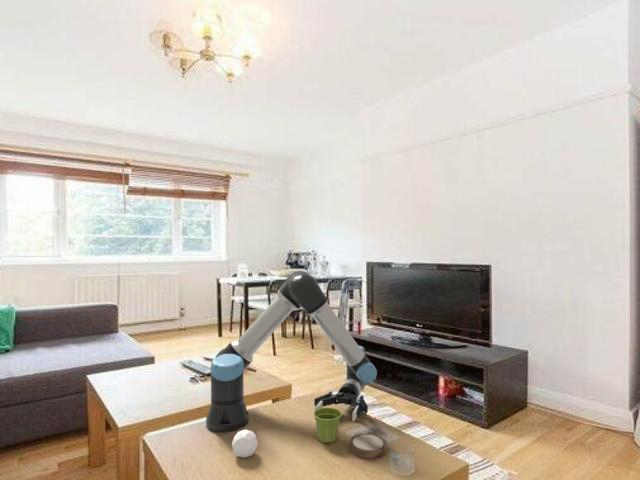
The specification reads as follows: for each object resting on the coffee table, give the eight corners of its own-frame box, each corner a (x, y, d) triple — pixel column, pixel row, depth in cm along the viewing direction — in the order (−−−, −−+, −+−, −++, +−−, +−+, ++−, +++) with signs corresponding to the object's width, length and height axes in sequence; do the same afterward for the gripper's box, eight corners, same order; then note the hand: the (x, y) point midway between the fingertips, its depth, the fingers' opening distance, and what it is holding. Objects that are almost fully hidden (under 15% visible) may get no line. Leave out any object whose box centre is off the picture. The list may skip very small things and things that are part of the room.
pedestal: (374, 463, 122) (374, 456, 122) (341, 450, 129) (341, 443, 129) (393, 446, 131) (393, 440, 131) (362, 435, 139) (362, 429, 139)
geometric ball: (249, 460, 128) (263, 436, 131) (245, 465, 121) (260, 439, 123) (229, 447, 130) (243, 423, 132) (224, 450, 122) (240, 425, 125)
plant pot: (325, 429, 143) (325, 405, 143) (346, 437, 137) (347, 412, 137) (307, 439, 136) (307, 414, 136) (329, 449, 130) (329, 422, 130)
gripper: (380, 405, 158) (369, 430, 138) (320, 397, 166) (301, 419, 146) (380, 386, 158) (369, 408, 138) (320, 379, 166) (301, 399, 146)
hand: (334, 414), depth 142 cm, fingers open, 13 cm apart
